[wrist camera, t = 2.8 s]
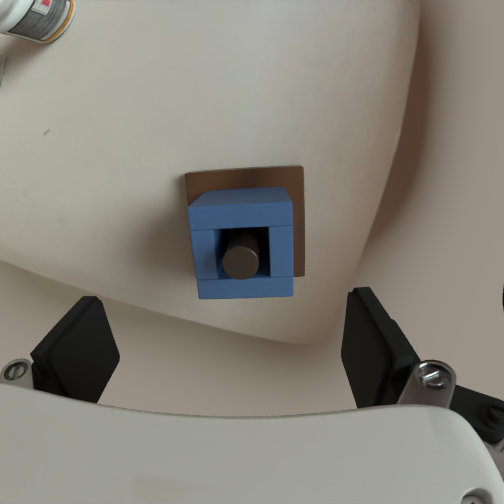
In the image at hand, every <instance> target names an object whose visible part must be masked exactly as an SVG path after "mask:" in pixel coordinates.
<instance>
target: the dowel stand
mask: <svg viewBox="0 0 504 504" xmlns="http://www.w3.org/2000/svg"><path fill="white" fill-rule="evenodd" d="M185 178H186V188H187V198H188V207H189V206H190V205H191V204H192V203H193V202H194V201H195V200H196V199H197V198H199V197H200V196H201V195H202V194H203V193H204V192H205V191H215V190H230V189H246V188H267V187H285V189H286V191H287V193H288V195H289V197H290V199H291V201H292V214H293V225H292V226H293V277H301V276H304V275H305V208H304V168H303V166H301V165H300V166H269V167H249V168H233V169H219V170H206V171H195V172H188V173H186V174H185ZM227 239H228V245H227V248H226V251H225V254H224V257H223V268H224V270H225V272H226V273H227V274H228V275H229V276H230V277H232V278H234V279H237V280H245V279H249V278H251V277H252V276H253V275H255V273H256V272H257V270H258V268H259V246H269V244H268V226H267V227H245V228H227Z"/></svg>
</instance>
